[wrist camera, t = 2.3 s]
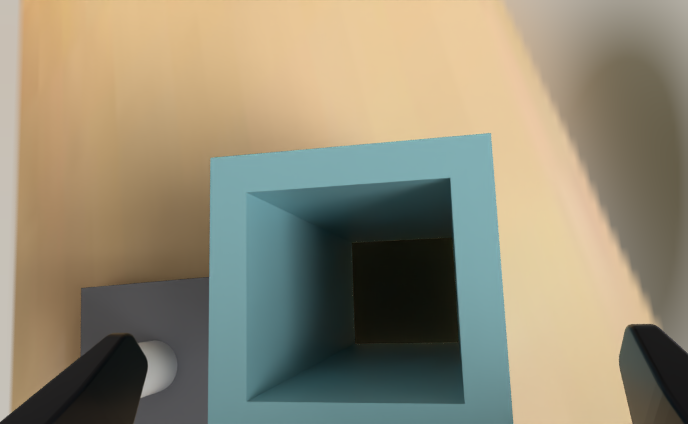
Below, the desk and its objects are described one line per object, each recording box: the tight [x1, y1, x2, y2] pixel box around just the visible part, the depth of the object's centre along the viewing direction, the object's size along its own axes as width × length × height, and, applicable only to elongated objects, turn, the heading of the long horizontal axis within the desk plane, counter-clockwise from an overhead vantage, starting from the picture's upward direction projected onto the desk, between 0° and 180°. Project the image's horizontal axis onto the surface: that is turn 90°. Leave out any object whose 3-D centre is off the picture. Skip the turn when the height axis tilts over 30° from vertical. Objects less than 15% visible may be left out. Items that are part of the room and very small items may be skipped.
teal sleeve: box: [208, 133, 513, 424], centre depth 14 cm, size 5×5×10 cm
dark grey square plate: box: [81, 277, 209, 424], centre depth 18 cm, size 6×6×4 cm
